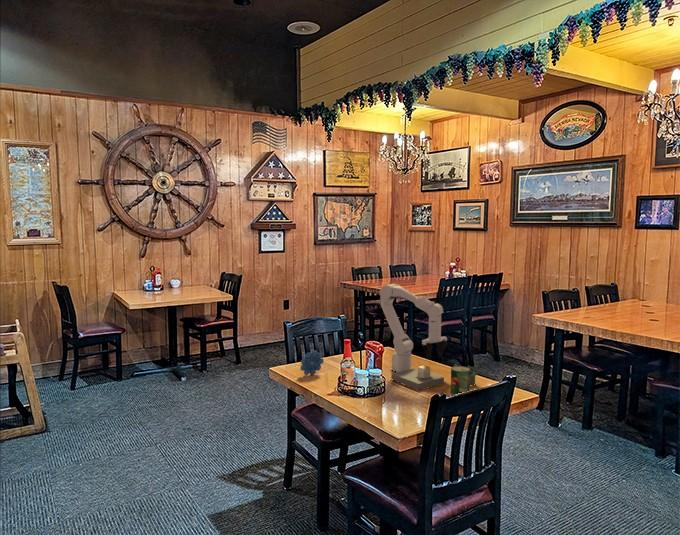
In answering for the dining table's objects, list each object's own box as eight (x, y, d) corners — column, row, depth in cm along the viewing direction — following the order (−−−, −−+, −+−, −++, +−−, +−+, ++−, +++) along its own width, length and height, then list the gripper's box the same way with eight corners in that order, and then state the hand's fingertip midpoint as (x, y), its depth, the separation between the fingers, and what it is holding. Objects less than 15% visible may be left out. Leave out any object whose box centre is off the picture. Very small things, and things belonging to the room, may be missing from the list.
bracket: (479, 384, 227) (480, 365, 227) (464, 387, 223) (465, 368, 222) (465, 379, 235) (465, 360, 235) (450, 382, 231) (451, 363, 230)
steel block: (417, 383, 228) (417, 366, 227) (423, 382, 230) (423, 365, 230) (423, 386, 225) (424, 368, 224) (429, 384, 227) (430, 367, 226)
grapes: (320, 371, 248) (320, 347, 247) (325, 375, 241) (325, 350, 240) (298, 373, 244) (298, 349, 243) (301, 377, 237) (301, 352, 236)
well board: (391, 379, 234) (391, 373, 233) (416, 374, 243) (416, 368, 243) (418, 390, 219) (418, 383, 219) (443, 383, 228) (444, 377, 228)
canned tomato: (446, 392, 216) (447, 367, 215) (458, 389, 221) (458, 364, 220) (461, 397, 210) (461, 372, 209) (473, 394, 214) (473, 368, 214)
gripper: (429, 332, 229) (429, 361, 231) (451, 329, 237) (451, 357, 239) (419, 330, 235) (418, 358, 236) (441, 326, 243) (440, 354, 244)
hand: (434, 357), depth 238 cm, fingers open, 7 cm apart
